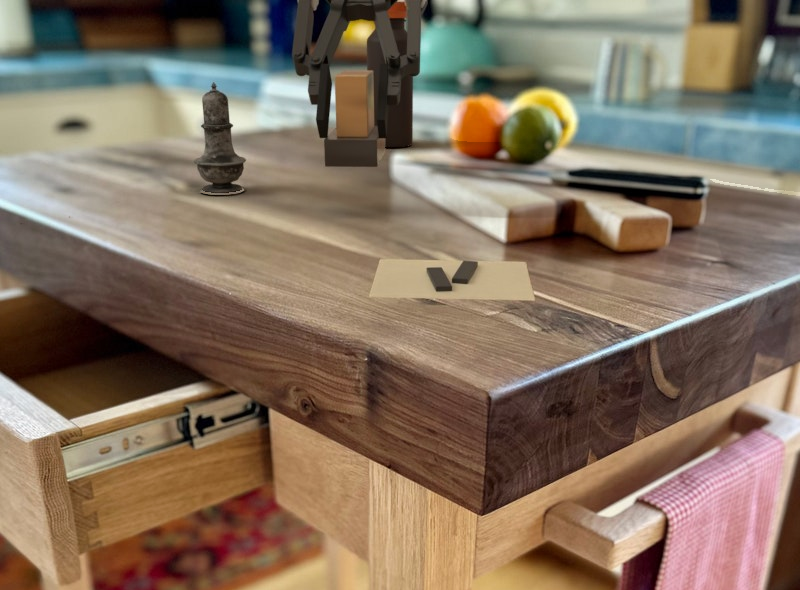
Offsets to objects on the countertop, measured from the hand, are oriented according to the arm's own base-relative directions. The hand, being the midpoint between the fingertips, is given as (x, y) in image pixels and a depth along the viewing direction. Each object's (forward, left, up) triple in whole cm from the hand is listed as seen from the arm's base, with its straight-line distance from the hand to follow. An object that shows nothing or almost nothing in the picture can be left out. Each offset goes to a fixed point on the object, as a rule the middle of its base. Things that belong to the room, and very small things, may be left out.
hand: (351, 128), depth 82 cm
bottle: (0, -52, -10) cm, 53 cm away
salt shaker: (+17, -16, -10) cm, 25 cm away
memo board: (-10, +20, -9) cm, 24 cm away
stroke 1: (-9, +21, -8) cm, 24 cm away
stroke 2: (-11, +19, -8) cm, 24 cm away
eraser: (0, -4, -3) cm, 5 cm away
